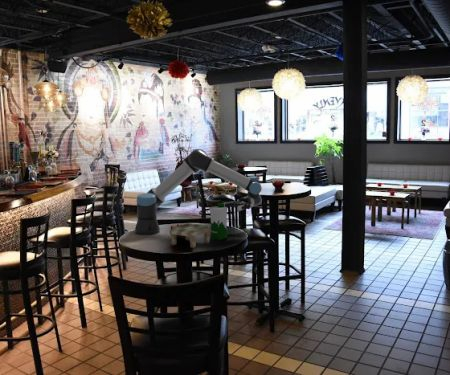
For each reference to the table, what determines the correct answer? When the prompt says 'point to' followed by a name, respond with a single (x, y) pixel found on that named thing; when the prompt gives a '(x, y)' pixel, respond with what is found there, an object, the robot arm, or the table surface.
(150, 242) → the table surface
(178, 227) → the stool
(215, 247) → the table surface
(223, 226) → the milk carton
